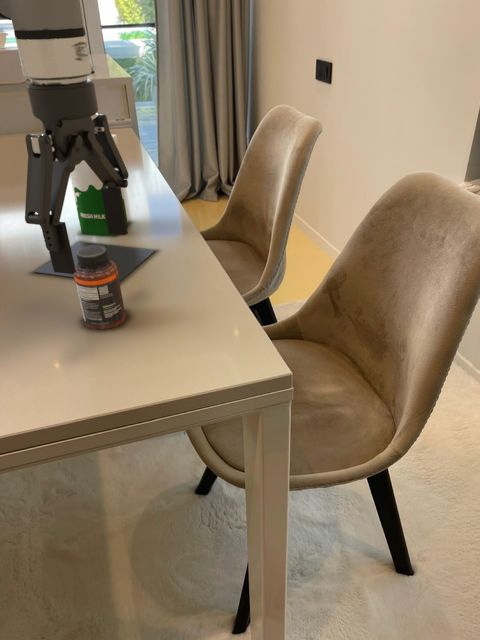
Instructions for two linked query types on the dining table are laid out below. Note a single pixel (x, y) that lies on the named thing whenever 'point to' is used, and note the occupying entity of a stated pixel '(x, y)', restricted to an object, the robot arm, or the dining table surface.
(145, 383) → the dining table surface
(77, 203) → the milk carton
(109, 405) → the dining table surface
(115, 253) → the mat
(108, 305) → the supplement bottle
